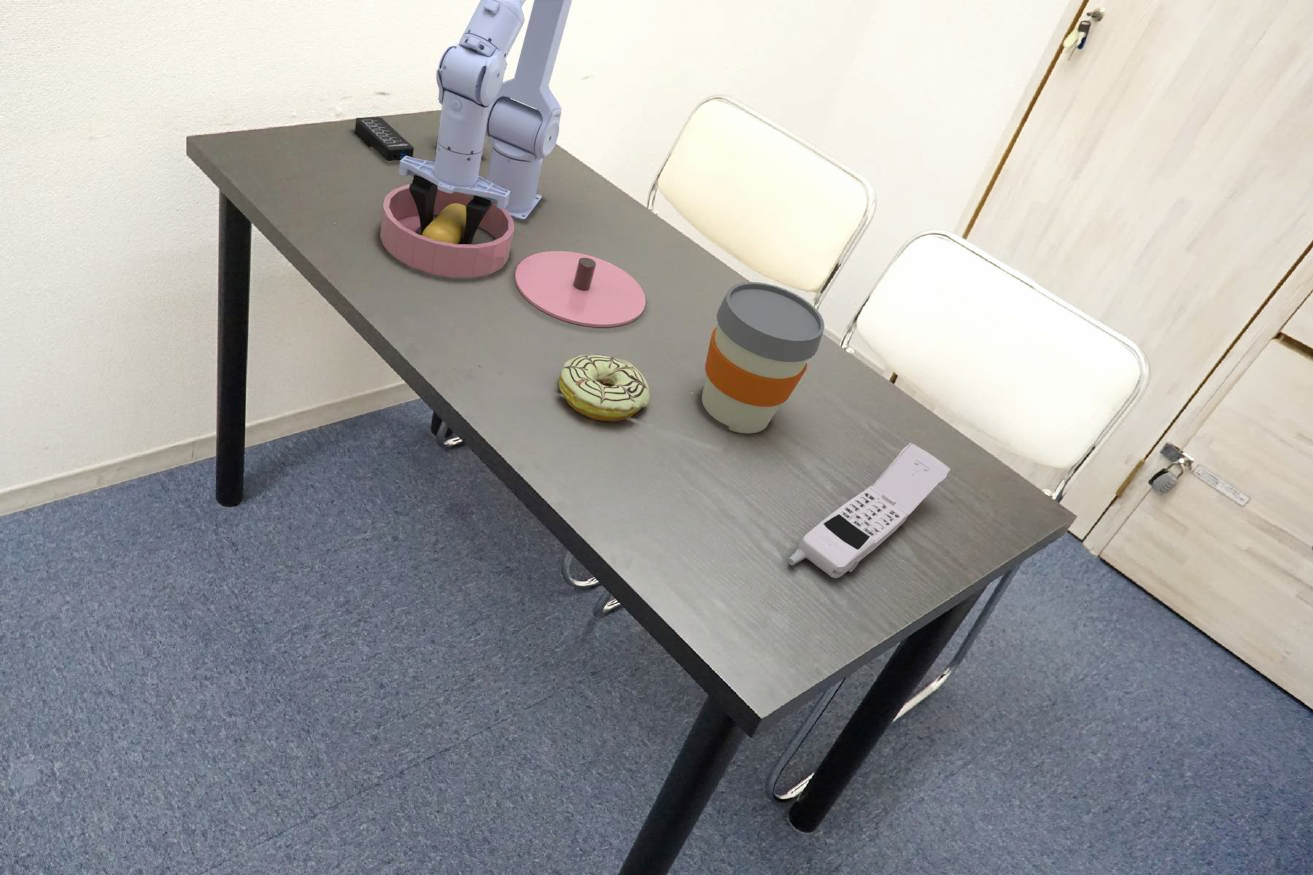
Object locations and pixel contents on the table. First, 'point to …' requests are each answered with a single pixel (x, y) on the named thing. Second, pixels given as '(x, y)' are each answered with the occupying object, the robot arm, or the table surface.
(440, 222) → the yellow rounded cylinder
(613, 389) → the decorated donut
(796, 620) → the table surface
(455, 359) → the table surface
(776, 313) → the reusable coffee cup
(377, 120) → the multiport hub
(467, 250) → the pot
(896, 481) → the mobile phone
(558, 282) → the lid
